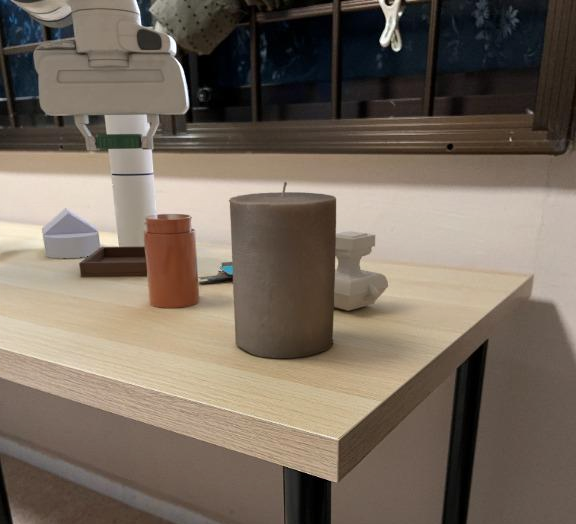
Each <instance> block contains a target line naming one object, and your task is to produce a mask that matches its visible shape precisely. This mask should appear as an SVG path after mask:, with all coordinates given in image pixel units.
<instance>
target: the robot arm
mask: <svg viewBox="0 0 576 524" xmlns="http://www.w3.org/2000/svg"><path fill="white" fill-rule="evenodd" d="M10 1H11V2H12V3H13V4H15V5H16V6H17V7H19V8H20V9H22V10H23V11H25V12H26V14H27V15H28V16H30V17H31V18H32V19H33V20H34V21H36V22H37V23H38V24H41V25H43V26H44V27H48V28H52V29H53V28H55V29H60V28H61V29H62V28H65V27H68V26H71V25H73V27H72V28H73V32H74V33H73V34H74V40H71V39H70V40H58V41H53V40H44V41H42V42H41V44H39V45H37V46H36V47H35V49H34V51H33V63H34V69H35V72H36V73H37V75H38V99H39V106H40V108H41V110H42V111H43V112H44V113H45V114H46V115H47V116H56V117H57V116H73V120H74V125H75V126H76V128H77V129H78V130H79V132H80V133H81V135H82V136H83V138H84V140H85V148H86V151H100V149H97V144H96V136H93V135H92V133H91V131H90V130H89V129H88V127H87V126H86V125H88V124H89V123H90V121H89V116H105V115H147V122H148V123H149V124H150V128H149V130H148V133H147V135H146V136H141V142H142V144H141V147H142V150H152V151H153V150H154V149H155V145H154V136H155V135H156V132H157V130H158V127H159V125H160V115H185V114H186V113H187V112H188V111H189V109H190V97H189V89H188V84H187V79H186V75H185V71H184V68H183V66H182V64H181V63H180V62H179V61H178V59H177V58H176V57H175V56H176V55H177V43H176V41H175V39H174V38H173V37H172V36H170V35H169V34H167V33H165V32H161V31H159V30H156V29H154V28H151V27H149V26H148V27H147V26H144V25H142V20H141V19H142V17H141V11H140V7H139V5H138V2H137V0H10Z"/></svg>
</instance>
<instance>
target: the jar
mask: <svg viewBox="0 0 576 524" xmlns="http://www.w3.org/2000/svg"><path fill="white" fill-rule="evenodd" d="M192 219H193V217H192V216H191V215H189V214H183V213H160V214H157V215H151V216H147V217H145V225H146V230H145V231H143V238H144V249H145V259H146V270H147V276H146V279H147V290H148V300H149V305H150V306H152V307H156V308H161V309H178V308H185V307H190V306H191V307H192V306H194V305H196V304H198V303H199V302H200V289H199V278H198V277H199V274H198V273H199V271H198V258H197V257H198V256H197V240H196V239H197V238H196V230H195V228H192Z"/></svg>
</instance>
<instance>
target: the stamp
mask: <svg viewBox="0 0 576 524" xmlns="http://www.w3.org/2000/svg"><path fill="white" fill-rule="evenodd" d="M373 247H376V234H373V233H367V232H361V231H360V232H359V231H352V230H348V231H343V232H338V233H337V232H336V249H335V258H336V259H337V267H336V268H335V287H334V309H335V308H336V309H340V310H342V311H343V310H344V311H347V312H350V311H353V310H357V309H360V308H364V307H367V306H370V305H374V304H375V302H376V301H377V300H378V299H379V298H380V296H382V295H383V293H384V292H385V291H386V289H387V288H389V281H388V279H387V277H386V276H385V275H384V274H382V273H378V272H375V271H374V272H373V271H369V270H364V269H361V265H360V264H361V259H362V257H366V256H368V255H370V254H371V253H372V252H373V251H372V250H373Z"/></svg>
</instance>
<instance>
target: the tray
mask: <svg viewBox="0 0 576 524" xmlns="http://www.w3.org/2000/svg"><path fill="white" fill-rule="evenodd" d="M78 264H79V265H78V266H79V272H80V277H81V278H90V277H91V278H93V277H96V278H97V277H101V278H102V277H147V270H146V259H145V249H144V246H143V247H119V246H100V248H99V249H98V250H97V251H95V252H94V253H93V254H91V255H90V256H88V257H85V258H84V259H83V260H82V261H80V262H79V263H78Z"/></svg>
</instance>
